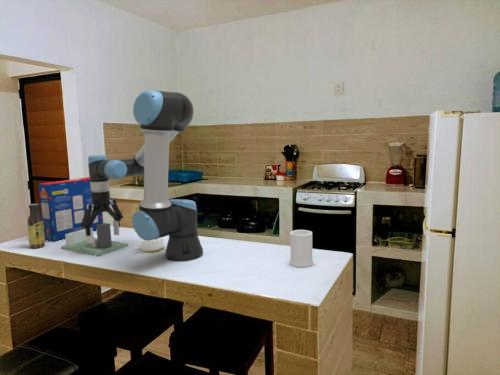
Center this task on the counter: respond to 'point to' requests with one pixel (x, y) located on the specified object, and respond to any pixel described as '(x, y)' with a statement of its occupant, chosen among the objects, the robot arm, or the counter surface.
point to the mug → (301, 248)
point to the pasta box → (65, 207)
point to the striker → (103, 236)
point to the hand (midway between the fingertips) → (104, 238)
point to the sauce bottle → (35, 227)
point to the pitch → (78, 243)
